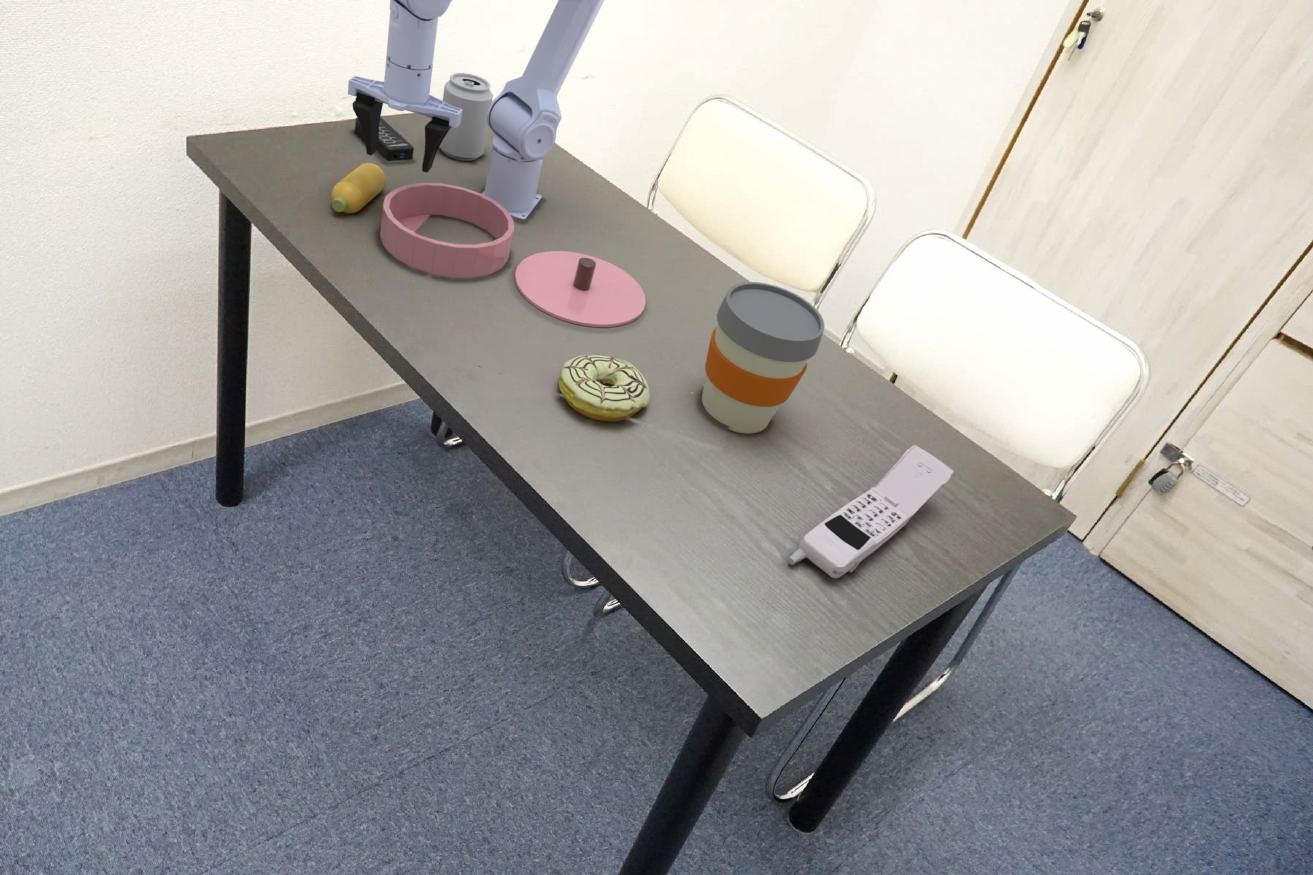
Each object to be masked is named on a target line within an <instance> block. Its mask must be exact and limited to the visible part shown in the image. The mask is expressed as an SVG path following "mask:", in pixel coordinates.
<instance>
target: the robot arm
mask: <svg viewBox="0 0 1313 875" xmlns="http://www.w3.org/2000/svg"><path fill="white" fill-rule="evenodd" d="M452 1H453V0H389V21H388V32H387V43H386V44H387V45H386V53H385V54H386V55H385V56H386V57H385V67H384V78H383V81H381V80H377V79H370V78H366V77H362V76H358V75H353V76H352V77H350V79H348V83H347V84H348V85H347V94H348V96H353V97H356V98H355V100H354V101H353V102H352V110H353V112H354V114H355V116H356V118H358V120H359V123H360V125H361V128H362V131H363V135H364V140H365V142H364V144H365V151H366V155H367V156H373V155H374V154H375V153H376V152H378V151H377V147H378V139H379V123H380V117H381V118H382V110H383V107H384V104H385V105H387V107H388V108H390V109H393V110H396V111H398V112H404V111H407V112H410V113H414V114H417V115H419V116H422V117H427V118H429V119H430V120H429V121H428V122H427V123H426V125H425V126H424V140H425V141H424V153H423V158H422V164H421V165H422V166H421V169H422V170H421V172H422V173H429V172H430V171H431V169H433V165H434V161H435V158H436V155H437V154H438V150H439V149H440V148H439V147H440V145H441V143H442V141H443V139H444V138H445V136H446V134H447V133H448V131H449V130H450V128H451V127H454V128H457V127H458V126H459V125H460V123H461V118H462V111H463V110H462V109H460V108H457V107H454V106H452V105H450V104H448V103H446V102H443V100H441V99H439V98H437V97H435V96H433V95H431V94H430V91H431V85H432V76H433V67H434V56H435V49H436V40H437V32H438V26H439V25H438V23H439V18H440V17H442V16H443V15H444V14H445V13H446V12H447V10H448V9H449V7H450V5H451V2H452ZM604 2H605V0H557V2H556V4H555V7H554V8H553V10H552V13H551V14H550V17H549V19H548V21H547V23H546V25H545V27H544V28H543V32H542V34H541V36H540V37H539V39H538V42H537V44H536V46H535V48H534V50H533V52H532V55H531V57H530V58H529V61H528V63H527V64H526V67H525V69H524V71H523V73H522V75H521V76H519V77H517V78H514V79H511V80H508V81H507V82H505V85H504V87H503V89H501V92H500V93H499V94H498V95H497V96H496V97H495V98H494V99H492V103H491V104H490V106H489V108H488V111H487V123H488V128H489V129H490V130H491V132H492V133H491V140H492V144H491V150H490V157H489V162H488V168H487V174H486V181H485V186H484V190H483V191H482V192H481V194H483V195H485V196H487V197H489V198H491V199H493V200H495V201H496V202H498V203H499V204H500V205H501V206H502V207H504V208H505V209H506V210H507V211H508V212H509V214H510V216H511V217H515V218H518V219H520V220H526V219H527V217H528V216H529V215H530V214H531V212H532V211H533V210H534V208H535V207H536V206H537V205H538V203H539V201H540V200H541V199H542V198H543V196H542V195H541V194H538V193H537V192H538V187H539V181H540V176H541V172H542V166H543V163H544V162H543V161H544V158H545V156H547V155H548V154H549V153H550V152H551V150H552V149H553V147H554V145H555V144H556V143H555V142H556V139H557V130H558V128H559V125H560V122H561V121H562V113H561V109H560V105H559V101H558V95H559V93H560V91H561V89H562V86H563V84H564V83H565V80H566V78H567V77H568V75H569V73H570V71H571V69H572V67H573V65H574V62H575V60H576V59H577V56H578V55H579V52H580V50H581V48H582V46H583V44H584V42H585V40H586V38H587V36H588V34H589V32H590V31H591V28H592V26H593V24H594V23H595V20H596V18H597V16H598V14H599V12H600V10H601V8H602V6H603V4H604Z"/></svg>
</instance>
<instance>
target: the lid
mask: <svg viewBox="0 0 1313 875" xmlns="http://www.w3.org/2000/svg"><path fill="white" fill-rule="evenodd" d="M514 283H515V286H516V288H517V289H518V291H519V293H520V295H522V296H523V297H524V299H525V300H526V301H527V302H529V303H530V304H531V305H532V306H534V307H535V308H536V309H538V310H539V311H541V312H543V313H545V314H546V315H548V316H551V317H553V318H555V319H557V320H560V321H563V322H566V323H570V324H573V325H579V326H583V327H589V328H615V327H616V328H617V327H620V326H624V325H627V324H630V323H632V322H634V321H635V320H637V319H638V318H639V317H641V315H642V314H643V312H644V310H645V307H646V302H647V301H646V294H645V292H644V290H643V288H642V287H641V284H639V282H638V281H637V280H636V279H635V278H633V277H632V275H631V274H629V273H628V272H627V271H625V270H624V269H621V268H620V267H618V266H616V265H615V264H612V263H611V262H608V261H606V260H604V259H601V258H598V257H596V256H592V255H590V254H589V255H588V254H585V253H580V252H574V251H565V250H550V251H549V250H548V251H541V252H538V253H534V254H530V255H529V256H526V257H525V258H524V259H522V260H521V261H520V262H519V264H517V267H516V269H515V272H514Z"/></svg>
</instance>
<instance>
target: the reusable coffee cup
mask: <svg viewBox="0 0 1313 875" xmlns="http://www.w3.org/2000/svg"><path fill="white" fill-rule="evenodd" d="M716 321H717V324H716V327H715V328H714V329H713V330H712V333H711V336H710V341H709V346H708V350H707V355H706V360H705V363H704V371H705V374H706V375H705V380H704V385H703V390H702V393H701V394H702V395H701V402H702V405H703V408H704V409H705V411H707V413H708V414H709V415H710V416H711V417H712V418H713V419H715V420H716V421H718V422H719V423H721V424H723V425H725V426H727V428H728V431H731V432H735V433H739V434H756V433H760V432H762V431H764V430H765V429H766V428H767V427H768V425H769V423H770V422H771V420H772V419H773V417H774V416H775V415H776V413H777V411H778V409H779V408H780V406H781V405H782V404H784V403H785V402H787V401H788V400H789V398H790V397H791V395H792V393H793V392H794V390H795V388H796V387H797V385H798V384H799V382H800V380H801V379H802V378H803V376H804V375H805V373H806V371H807V368H808V361H809V360H810V359H811V358H813V357H814V356H816V354H817V352H818V350H819V347H820V343H821V341H822V337H823V334H824V331H825V321H824V319H823V316H822V315H821V313H820V312H819V310H818V309H817V308H816V307H815V306H814V305H813V304H812V303H810V302H809V301H808V300H806V299H805V298H804V297H802V296H800V295H798V294H797V293H795V292H793V291H790V290H788V289H786V288H782V287H781V286H778V285H773V284H770V283H766V282H757V281H747V282H740V283H737V284H735V285H733V286H731V287H730V288H729V289H728V290H727V291H726V294H725V295H724V298H723V300H722V302H721V304H720V305H719V308H718V310H717V313H716Z"/></svg>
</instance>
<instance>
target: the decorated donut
mask: <svg viewBox="0 0 1313 875" xmlns="http://www.w3.org/2000/svg"><path fill="white" fill-rule="evenodd" d="M558 387H559V390H560V392H561V395H562V396H563V398H564V400H565V401H566V402H567V404H568V405H569V406H570V407H571V408H572V409H574V411H576V412H578V413H580V414H581V415H583V416H584V417H587V418H589V419H591V420H594V421H601V422H621V421H625V420H627V419H629V418H631V417H633V416H634V415H635V414H637V413H638V412H639V411H640V410H641V409H642V408H643V409H644V408H646V407H647V406H648V405H649V403H650V401H651V400H650V399H651V397H650V396H651V395H650V386H649V384H648V381H647V379H646V378H645V377H644V376H643V374H642V373H641V371H639V370H638V368H636V367H635V365H633V364H632V363H631V362H629V361H627V360H624V359H620V358H618V357H614V356H608V355H604V354H600V353H594V354H579V355H578V356H575V357H573V358H571V359H568V360H566V361H565V362H564V364H563V367H562V369H561V370H560V374H559V379H558Z"/></svg>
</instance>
